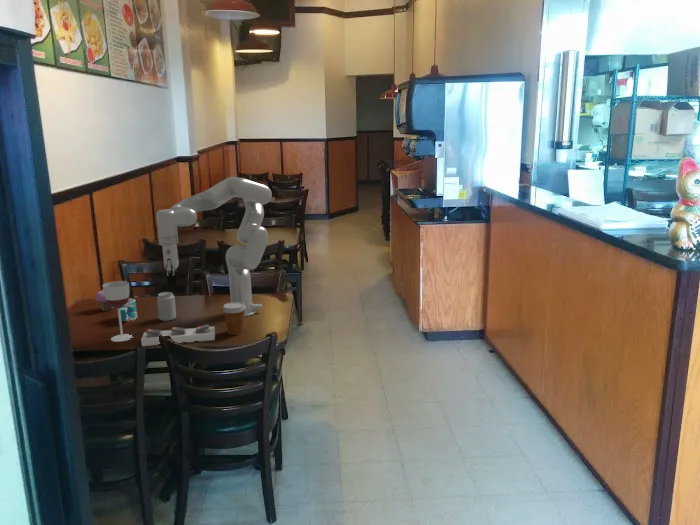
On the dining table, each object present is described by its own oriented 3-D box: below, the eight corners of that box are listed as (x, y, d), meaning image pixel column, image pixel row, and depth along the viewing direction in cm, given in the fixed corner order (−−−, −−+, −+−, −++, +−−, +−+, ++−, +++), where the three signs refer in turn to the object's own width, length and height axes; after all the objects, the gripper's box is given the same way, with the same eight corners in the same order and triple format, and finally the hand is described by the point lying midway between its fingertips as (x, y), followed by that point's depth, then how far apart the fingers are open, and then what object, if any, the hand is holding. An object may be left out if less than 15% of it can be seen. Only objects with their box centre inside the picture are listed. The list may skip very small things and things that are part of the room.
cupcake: (118, 310, 271) (116, 290, 269) (99, 314, 266) (96, 293, 264) (114, 305, 278) (112, 286, 276) (95, 309, 274) (92, 289, 271)
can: (171, 322, 254) (168, 296, 251) (155, 321, 255) (153, 295, 252) (179, 316, 261) (177, 291, 258) (164, 315, 262) (161, 290, 259)
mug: (139, 315, 264) (137, 298, 262) (133, 324, 252) (131, 306, 250) (120, 316, 263) (118, 299, 261) (113, 325, 251) (111, 307, 249)
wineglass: (113, 334, 240) (106, 281, 234) (137, 333, 241) (131, 280, 235) (106, 342, 231) (99, 287, 226) (131, 341, 232) (125, 286, 226)
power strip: (215, 333, 239) (214, 326, 238) (214, 340, 231) (213, 332, 231) (144, 339, 234) (144, 332, 233) (141, 346, 226) (141, 339, 225)
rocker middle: (184, 330, 233) (185, 328, 232) (184, 333, 230) (184, 330, 229) (172, 329, 232) (172, 326, 231) (171, 331, 228) (171, 329, 228)
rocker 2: (209, 326, 234) (208, 323, 234) (208, 328, 231) (208, 326, 231) (197, 329, 234) (196, 327, 233) (196, 332, 231) (195, 329, 230)
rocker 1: (160, 332, 231) (160, 330, 231) (159, 335, 228) (159, 332, 228) (147, 331, 230) (147, 328, 230) (146, 333, 227) (146, 331, 227)
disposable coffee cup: (226, 337, 233) (224, 309, 231) (222, 330, 242) (220, 303, 239) (249, 334, 237) (248, 306, 234) (244, 327, 246) (242, 300, 243)
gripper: (176, 243, 225) (180, 287, 229) (180, 235, 241) (183, 277, 246) (156, 244, 224) (160, 289, 228) (161, 236, 240) (165, 278, 244)
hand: (172, 282), depth 237 cm, fingers open, 5 cm apart
